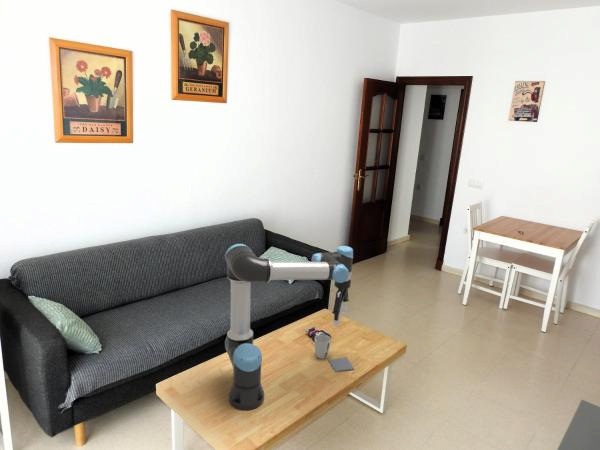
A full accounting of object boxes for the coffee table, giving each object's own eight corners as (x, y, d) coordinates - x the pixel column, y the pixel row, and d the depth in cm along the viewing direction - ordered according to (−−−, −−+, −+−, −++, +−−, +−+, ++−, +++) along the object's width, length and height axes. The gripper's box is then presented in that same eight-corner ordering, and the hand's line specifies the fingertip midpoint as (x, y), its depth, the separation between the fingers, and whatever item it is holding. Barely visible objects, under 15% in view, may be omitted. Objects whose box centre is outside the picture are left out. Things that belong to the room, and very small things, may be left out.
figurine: (312, 324, 250) (333, 333, 240) (312, 330, 251) (333, 340, 241) (302, 329, 243) (323, 339, 234) (302, 336, 244) (323, 346, 235)
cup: (328, 361, 221) (329, 343, 218) (312, 358, 222) (313, 341, 220) (330, 353, 229) (331, 335, 226) (314, 350, 230) (316, 333, 227)
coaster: (335, 372, 212) (335, 370, 212) (328, 360, 221) (328, 359, 221) (354, 370, 215) (354, 368, 215) (346, 358, 224) (346, 357, 224)
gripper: (344, 289, 194) (340, 332, 200) (356, 271, 217) (352, 310, 222) (328, 286, 196) (324, 329, 202) (341, 268, 219) (338, 307, 225)
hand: (339, 319), depth 212 cm, fingers open, 13 cm apart
